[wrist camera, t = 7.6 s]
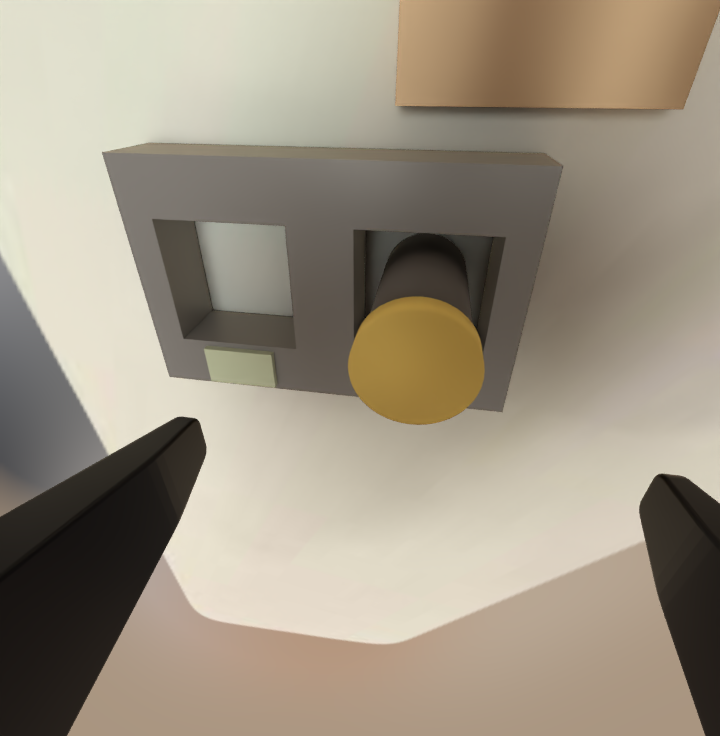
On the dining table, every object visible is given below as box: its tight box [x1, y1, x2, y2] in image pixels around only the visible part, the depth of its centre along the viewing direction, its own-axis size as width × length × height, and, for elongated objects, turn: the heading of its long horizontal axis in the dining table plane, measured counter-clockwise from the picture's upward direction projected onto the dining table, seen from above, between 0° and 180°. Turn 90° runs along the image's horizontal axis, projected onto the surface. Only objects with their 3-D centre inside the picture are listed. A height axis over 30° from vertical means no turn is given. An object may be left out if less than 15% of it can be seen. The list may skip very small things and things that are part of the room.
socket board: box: [102, 143, 563, 412], centre depth 18 cm, size 16×10×3 cm, turn 90°
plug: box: [348, 233, 485, 425], centre depth 16 cm, size 4×4×8 cm
